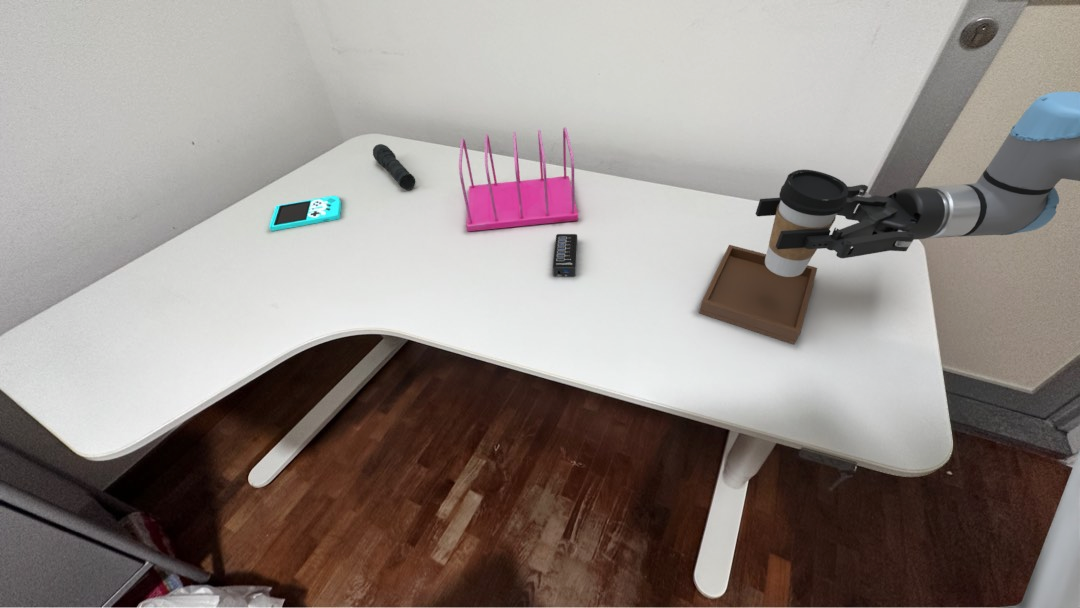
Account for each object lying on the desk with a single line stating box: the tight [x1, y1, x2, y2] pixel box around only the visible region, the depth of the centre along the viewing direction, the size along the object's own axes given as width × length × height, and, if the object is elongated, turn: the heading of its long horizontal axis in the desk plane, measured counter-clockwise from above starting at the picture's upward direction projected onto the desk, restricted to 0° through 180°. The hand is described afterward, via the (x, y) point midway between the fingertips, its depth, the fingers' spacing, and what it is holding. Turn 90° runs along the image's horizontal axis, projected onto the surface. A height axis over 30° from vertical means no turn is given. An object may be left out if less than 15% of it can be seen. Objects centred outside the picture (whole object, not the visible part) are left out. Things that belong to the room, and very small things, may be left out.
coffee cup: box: [765, 169, 849, 277], centre depth 68 cm, size 8×8×15 cm
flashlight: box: [372, 143, 417, 191], centre depth 121 cm, size 5×21×5 cm, turn 33°
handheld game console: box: [268, 195, 342, 232], centre depth 111 cm, size 10×16×1 cm, turn 103°
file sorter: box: [458, 126, 579, 232], centre depth 103 cm, size 17×25×16 cm
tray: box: [698, 244, 818, 345], centre depth 81 cm, size 18×16×3 cm
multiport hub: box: [552, 233, 578, 278], centre depth 93 cm, size 4×11×2 cm, turn 175°
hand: (768, 223), depth 68 cm, fingers closed on coffee cup, 8 cm apart
